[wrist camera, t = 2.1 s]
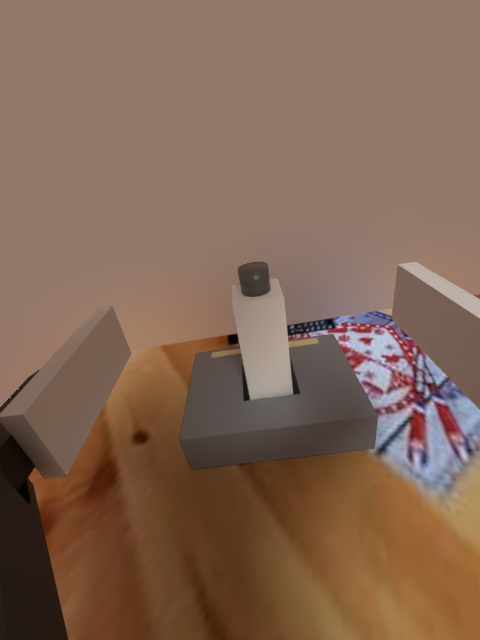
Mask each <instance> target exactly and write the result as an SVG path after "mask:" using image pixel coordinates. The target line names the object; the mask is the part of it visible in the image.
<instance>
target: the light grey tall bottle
mask: <svg viewBox="0 0 480 640" xmlns="http://www.w3.org/2000/svg"><path fill="white" fill-rule="evenodd" d="M238 274H239V280H240V283H239V284H233V285H232V308H233V313H234V318H235V323H236V328H237V334H238V339H239V344H240V349H241V354H242V359H243V365H244V370H245V375H246V380H247V385H248V390H249V396H250V400H256V399H264V398H272V397H279V396H287V395H293V388H292V377H291V366H290V356H289V345H288V334H287V324H286V314H285V304H284V296H283V293H282V290H281V287H280V284H279V281H278V278H272V279H270V278H269V270H268V264H267V263H264V262H252V263H247V264H244V265H242V266H240V267H239V268H238Z"/></svg>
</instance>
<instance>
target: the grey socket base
mask: <svg viewBox="0 0 480 640" xmlns="http://www.w3.org/2000/svg"><path fill="white" fill-rule="evenodd" d="M288 345H289V356H290V366H291V377H292V388H293V395H287V396H279V397H272V398H264V399H256V400H250V396H249V390H248V385H247V380H246V375H245V370H244V365H243V359H242V354H241V349H240V347H237V348H230V349H223V350H216V351H208V352H201V353H196V355H195V361H194V366H193V371H192V376H191V381H190V387H189V392H188V397H187V402H186V408H185V413H184V418H183V423H182V428H181V434H180V439H179V441H180V443H181V446H182V448H183V451H184V453H185V456H186V458H187V461H188V464H189V466H190V469H191V470H193V469H202V468H210V467H219V466H228V465H236V464H245V463H254V462H262V461H271V460H280V459H288V458H297V457H305V456H314V455H323V454H331V453H340V452H349V451H357V450H366V449H374V448H375V439H376V430H377V420H378V415H377V413H376V411H375V409H374V408H373V406H372V404H371V402H370V400H369V399H368V397H367V395H366V393H365V391H364V389H363V388H362V386H361V384H360V382H359V380H358V378H357V377H356V375H355V373H354V371H353V369H352V367H351V366H350V364H349V362H348V360H347V358H346V357H345V355H344V353H343V351H342V349H341V347H340V346H339V344H338V342H337V340H336V338H335V336H334V335H333V334H329V335H322V336H314V337H307V338H300V339H293V340H288Z"/></svg>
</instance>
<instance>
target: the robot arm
mask: <svg viewBox="0 0 480 640" xmlns="http://www.w3.org/2000/svg"><path fill="white" fill-rule="evenodd" d="M392 319H393V320H394V321H395V322H396V324H397V325H398V326H399V327H400V328H401V329H402V330H403V331H404V332H405V333H406V334H407V335H408V336H409V337H410V338H411V339H412V340H413V341H414V342H415V343H416V344H417V345H418V346H419V347H420V348H421V349H422V350H423V351H424V352H425V353H426V354H427V355H428V356H429V358H430V359H431V360H432V361H433V362H434V363H435V364H436V365H437V366H438V367H439V368H440V369H441V370H442V371H443V372H444V373H445V374H446V375H447V376H448V377H449V378H450V379H451V380H452V381H453V382H454V383H455V384H456V385H457V386H458V387H459V388H460V389H461V390H462V391H463V393H464V394H465V395H466V396H467V397H468V398H469V399H470V400H471V401H472V402H473V403H474V404H475V405H476V406H477V407H478V408H479V409H480V299H479V298H477V297H475V296H473V295H472V294H470V293H468V292H466V291H465V290H463V289H461V288H460V287H458V286H456V285H454V284H453V283H451V282H449V281H448V280H446V279H444V278H442V277H441V276H439V275H437V274H435V273H434V272H432V271H430V270H429V269H427V268H425V267H423V266H422V265H420V264H418V263H416V262H412V263H405V264H398V268H397V276H396V285H395V293H394V302H393V310H392ZM130 355H131V351H130V348H129V346H128V343H127V341H126V339H125V336H124V333H123V331H122V328H121V326H120V323H119V321H118V318H117V316H116V314H115V311H114V308H113V306H107V307H100V308H96V309H95V310H94V312H93V313H92V314H91V315H90V316H89V317H88V318H87V319H86V320H85V321H84V322H83V324H82V325H81V326H80V327H79V328H78V329H77V330H76V331H75V332H74V333H73V334H72V336H71V337H70V338H69V339H68V340H67V341H66V342H65V343H64V344H63V345H62V347H61V348H60V349H59V350H58V351H57V352H56V353H55V354H54V355H53V356H52V357H51V359H50V360H49V361H48V362H47V363H46V364H45V365H44V366H43V367H42V368H41V369H40V370H38V371H37V372H36V373H34V374H33V375H31V376H30V377H29V378H28V379H27V380H26V381H25V382H24V383H23V384H22V385H21V386H20V387H19V390H16V391H15V392H14V394H13V395H12V396H11V398H9V399H8V400H7V401H6V402H5V403H4V404H3V405H2V406H1V407H0V640H68V636H67V632H66V627H65V623H64V619H63V614H62V610H61V605H60V601H59V597H58V592H57V588H56V583H55V579H54V575H53V570H52V566H51V561H50V557H49V553H48V548H47V544H46V539H45V535H44V530H43V526H42V522H41V517H40V513H39V508H38V504H37V500H36V495H35V491H34V486H33V484H32V483H31V481H30V480H29V479H28V477H29V475H30V474H31V472H32V470H33V469H34V467H35V468H36V469H37V470H38V471H39V473H40V474H41V475H42V477H43V478H53V477H62V476H67V475H68V473H69V471H70V469H71V467H72V466H73V464H74V462H75V460H76V458H77V456H78V454H79V452H80V450H81V448H82V446H83V445H84V443H85V441H86V439H87V437H88V435H89V433H90V431H91V429H92V427H93V426H94V424H95V422H96V420H97V418H98V416H99V414H100V412H101V410H102V408H103V407H104V405H105V403H106V401H107V399H108V397H109V395H110V393H111V391H112V389H113V388H114V386H115V384H116V382H117V380H118V378H119V376H120V374H121V372H122V370H123V368H124V367H125V365H126V363H127V361H128V359H129V357H130Z"/></svg>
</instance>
